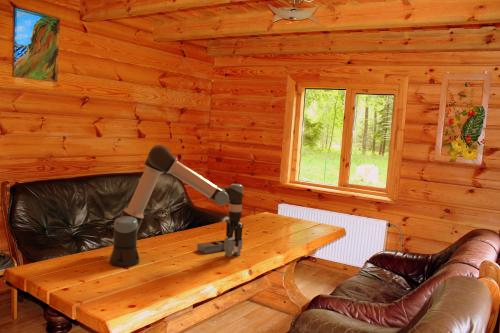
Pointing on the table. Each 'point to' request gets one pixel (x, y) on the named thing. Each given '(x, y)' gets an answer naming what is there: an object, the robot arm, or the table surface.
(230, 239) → the upright grey box
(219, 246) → the block with rectangular hole
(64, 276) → the table surface
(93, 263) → the table surface
